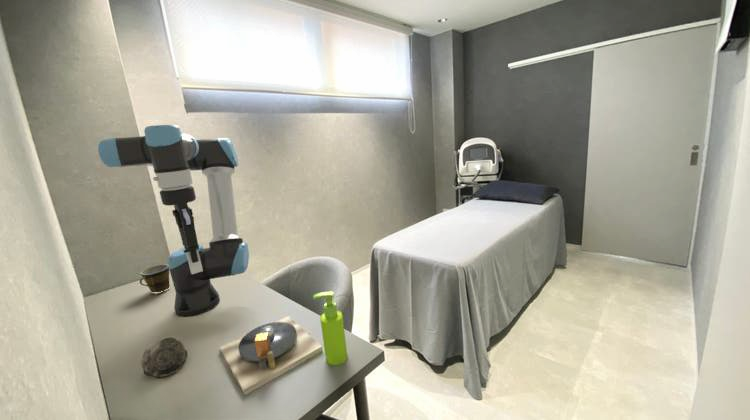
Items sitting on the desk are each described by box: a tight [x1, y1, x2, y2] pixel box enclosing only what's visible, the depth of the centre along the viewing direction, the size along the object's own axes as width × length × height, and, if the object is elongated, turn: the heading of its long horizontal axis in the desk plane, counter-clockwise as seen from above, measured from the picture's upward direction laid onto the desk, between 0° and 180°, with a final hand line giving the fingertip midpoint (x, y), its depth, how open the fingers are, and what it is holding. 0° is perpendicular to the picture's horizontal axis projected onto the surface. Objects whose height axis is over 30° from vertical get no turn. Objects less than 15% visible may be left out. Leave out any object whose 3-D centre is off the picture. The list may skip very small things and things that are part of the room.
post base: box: [219, 315, 323, 396], centre depth 92 cm, size 22×22×6 cm
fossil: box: [141, 336, 188, 379], centre depth 88 cm, size 11×9×10 cm
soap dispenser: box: [312, 291, 348, 366], centre depth 85 cm, size 6×7×20 cm
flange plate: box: [239, 321, 297, 368], centre depth 90 cm, size 18×16×6 cm
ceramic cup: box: [139, 263, 170, 293], centre depth 134 cm, size 13×10×10 cm
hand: (197, 271), depth 87 cm, fingers closed
